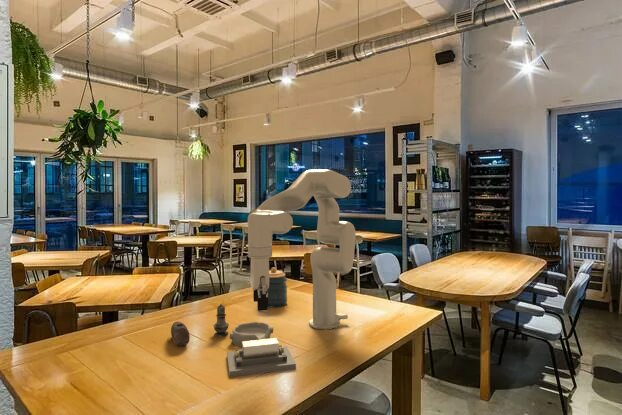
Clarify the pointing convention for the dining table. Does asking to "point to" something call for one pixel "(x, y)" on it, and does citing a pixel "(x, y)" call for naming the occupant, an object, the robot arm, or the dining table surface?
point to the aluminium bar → (260, 348)
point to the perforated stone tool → (180, 334)
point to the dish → (250, 332)
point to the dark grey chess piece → (221, 322)
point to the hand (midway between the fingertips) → (260, 305)
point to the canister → (277, 288)
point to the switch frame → (259, 363)
